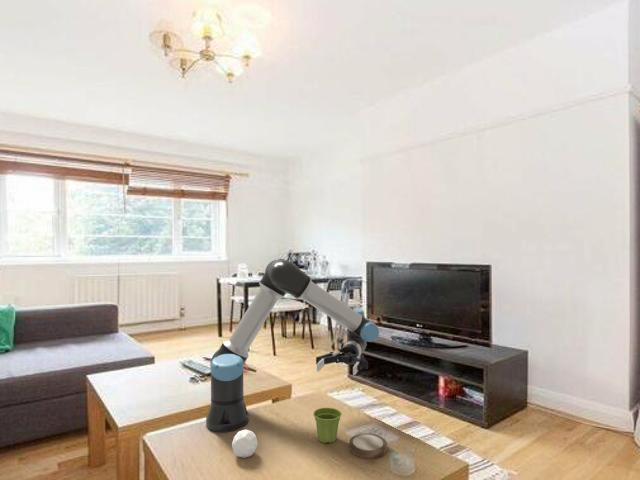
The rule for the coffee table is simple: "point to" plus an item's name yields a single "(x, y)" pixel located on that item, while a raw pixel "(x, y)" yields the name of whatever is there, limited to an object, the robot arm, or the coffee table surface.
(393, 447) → the coffee table surface
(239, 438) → the geometric ball
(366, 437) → the pedestal
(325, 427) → the plant pot
